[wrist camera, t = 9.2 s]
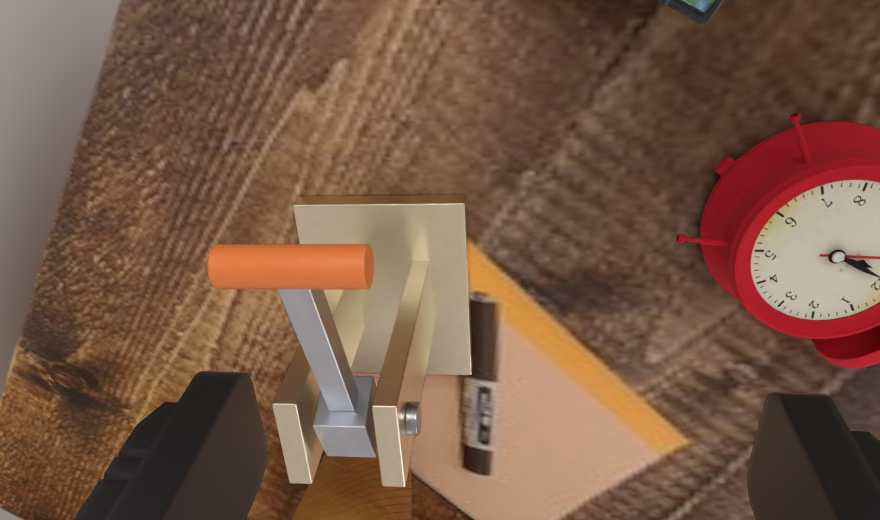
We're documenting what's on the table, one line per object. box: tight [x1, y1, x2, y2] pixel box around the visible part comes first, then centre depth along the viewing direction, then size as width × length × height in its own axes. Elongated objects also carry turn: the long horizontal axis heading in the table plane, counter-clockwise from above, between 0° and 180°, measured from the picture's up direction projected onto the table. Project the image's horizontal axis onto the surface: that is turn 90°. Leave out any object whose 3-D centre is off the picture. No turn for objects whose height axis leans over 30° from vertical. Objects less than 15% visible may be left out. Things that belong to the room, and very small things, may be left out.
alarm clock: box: [677, 113, 880, 369], centre depth 33 cm, size 10×6×15 cm
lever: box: [208, 244, 377, 458], centre depth 26 cm, size 12×5×2 cm, turn 4°
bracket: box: [272, 194, 473, 487], centre depth 33 cm, size 11×9×13 cm
